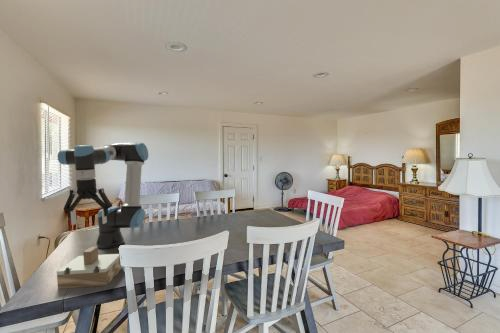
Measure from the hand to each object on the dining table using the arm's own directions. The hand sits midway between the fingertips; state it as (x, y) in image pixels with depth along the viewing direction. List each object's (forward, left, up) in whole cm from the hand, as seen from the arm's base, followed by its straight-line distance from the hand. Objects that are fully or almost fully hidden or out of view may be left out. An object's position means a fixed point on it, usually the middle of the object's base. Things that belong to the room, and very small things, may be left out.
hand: (89, 223), depth 119 cm
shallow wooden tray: (+3, +2, -24) cm, 25 cm away
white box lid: (+3, +2, -18) cm, 19 cm away
